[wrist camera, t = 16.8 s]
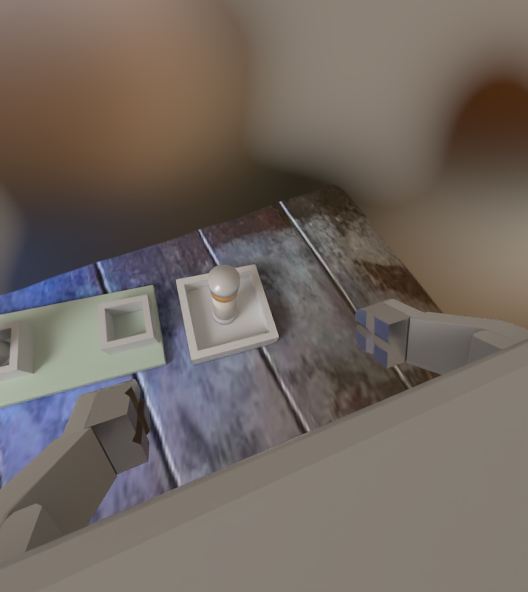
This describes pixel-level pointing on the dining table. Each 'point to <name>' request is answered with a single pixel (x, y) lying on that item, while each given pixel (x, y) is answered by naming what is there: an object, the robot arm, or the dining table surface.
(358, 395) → the dining table surface
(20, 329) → the fuse board
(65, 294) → the dining table surface
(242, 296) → the parts tray
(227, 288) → the orange-banded cylinder plug
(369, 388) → the dining table surface
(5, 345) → the peg
